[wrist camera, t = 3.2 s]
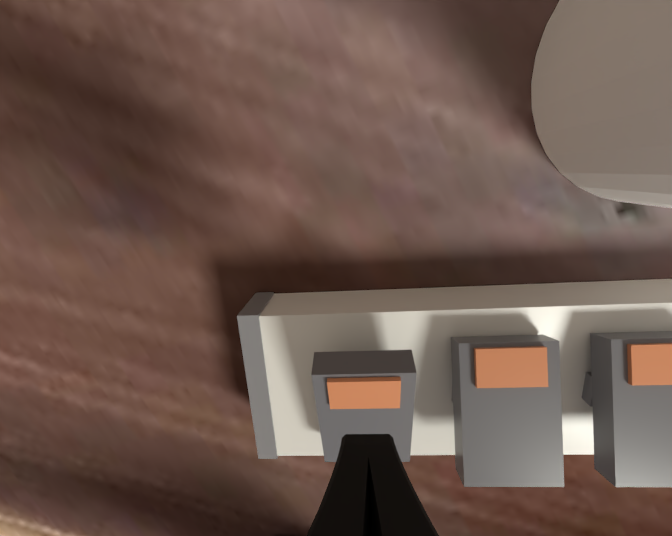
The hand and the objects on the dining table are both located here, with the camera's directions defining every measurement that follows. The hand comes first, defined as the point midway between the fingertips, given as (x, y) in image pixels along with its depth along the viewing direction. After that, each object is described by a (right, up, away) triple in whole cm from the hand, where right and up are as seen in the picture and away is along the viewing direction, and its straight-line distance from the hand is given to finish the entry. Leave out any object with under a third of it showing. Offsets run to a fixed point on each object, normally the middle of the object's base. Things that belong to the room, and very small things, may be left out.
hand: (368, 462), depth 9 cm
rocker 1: (0, -1, +5) cm, 5 cm away
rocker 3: (+12, 0, +4) cm, 13 cm away
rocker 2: (+6, -1, +5) cm, 8 cm away
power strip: (+10, +1, +9) cm, 13 cm away
